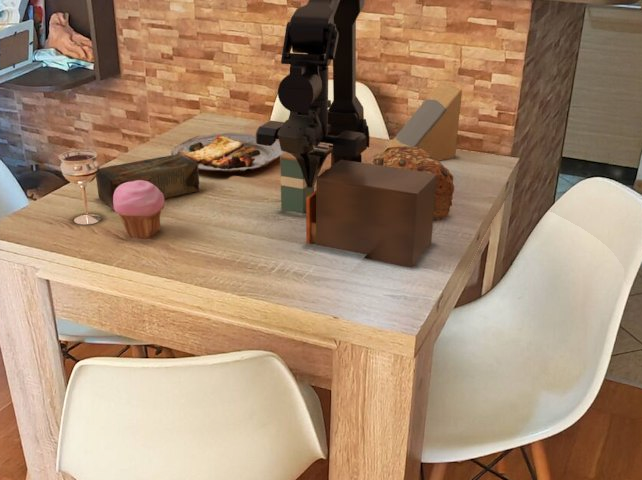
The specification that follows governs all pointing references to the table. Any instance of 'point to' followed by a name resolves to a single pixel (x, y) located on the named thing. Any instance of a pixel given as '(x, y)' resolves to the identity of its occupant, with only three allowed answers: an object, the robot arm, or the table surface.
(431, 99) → the sandwich container
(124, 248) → the table surface
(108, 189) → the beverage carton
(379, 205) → the brown cupboard
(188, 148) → the food plate
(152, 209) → the cupcake
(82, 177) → the wineglass
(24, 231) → the table surface
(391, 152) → the bread
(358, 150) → the robot arm
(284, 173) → the long rectangular block
